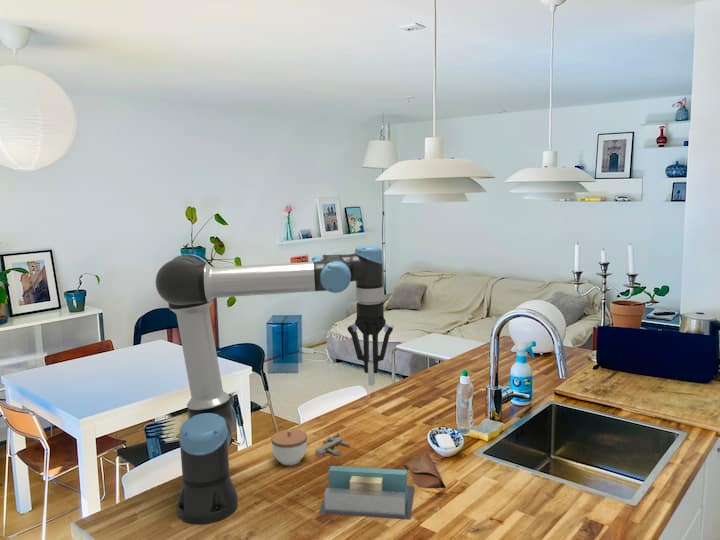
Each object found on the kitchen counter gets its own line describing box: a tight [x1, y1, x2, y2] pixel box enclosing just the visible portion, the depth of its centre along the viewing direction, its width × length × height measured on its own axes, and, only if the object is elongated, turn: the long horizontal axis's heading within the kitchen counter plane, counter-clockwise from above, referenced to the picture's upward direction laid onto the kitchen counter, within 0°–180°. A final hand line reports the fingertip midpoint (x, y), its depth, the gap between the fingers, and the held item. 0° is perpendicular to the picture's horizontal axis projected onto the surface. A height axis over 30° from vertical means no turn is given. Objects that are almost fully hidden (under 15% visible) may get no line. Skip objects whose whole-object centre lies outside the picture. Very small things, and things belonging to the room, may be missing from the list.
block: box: [350, 476, 383, 491], centre depth 147 cm, size 8×3×7 cm, turn 81°
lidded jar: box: [270, 428, 308, 466], centre depth 175 cm, size 11×11×9 cm
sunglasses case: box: [403, 451, 446, 489], centre depth 163 cm, size 18×7×7 cm, turn 7°
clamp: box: [314, 432, 350, 459], centre depth 184 cm, size 15×2×10 cm
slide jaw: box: [328, 465, 408, 504], centre depth 150 cm, size 20×2×8 cm, turn 81°
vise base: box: [318, 485, 416, 520], centre depth 150 cm, size 23×16×6 cm
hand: (371, 383), depth 164 cm, fingers closed
